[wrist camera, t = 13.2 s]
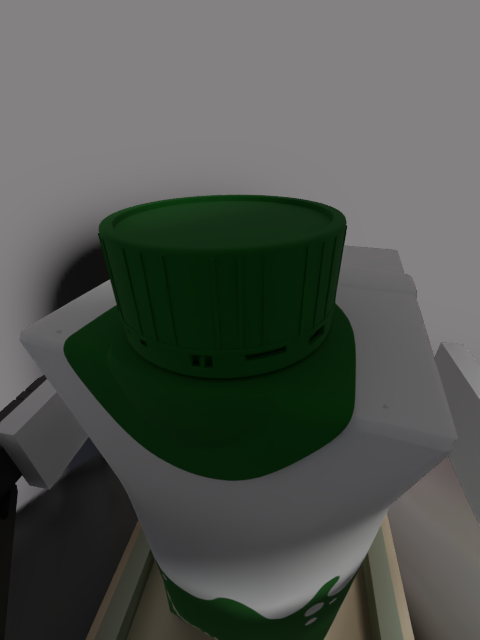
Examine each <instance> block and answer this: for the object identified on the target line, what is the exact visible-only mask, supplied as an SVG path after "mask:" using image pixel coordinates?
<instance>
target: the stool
mask: <svg viewBox="0 0 480 640" xmlns="http://www.w3.org/2000/svg"><path fill="white" fill-rule="evenodd" d="M86 640H216V639H214V638H213V637H211V636H209V635H207V634H206V633H204V632H202V631H200V630H199V629H197V628H195V627H194V626H192V625H190V624H188V623H187V622H185V621H184V620H182V619H181V618H179V617H178V616H176V615H175V614H173V613H172V612H170V609H169V604H168V600H167V595H166V590H165V586H164V581H163V578H162V575H161V573H160V571H159V568H158V566H157V563H156V561H155V558H154V556H153V554H152V551H151V549H150V546H149V544H148V541H147V539H146V537H145V534H144V532H143V529H142V527H141V525H140V522H139V520H138V522H137V524H136V526H135V529H134V531H133V533H132V536H131V538H130V540H129V542H128V545H127V547H126V549H125V551H124V554H123V556H122V558H121V561H120V563H119V565H118V567H117V570H116V572H115V574H114V576H113V579H112V581H111V583H110V586H109V588H108V590H107V592H106V595H105V597H104V599H103V601H102V604H101V606H100V608H99V610H98V613H97V615H96V617H95V620H94V622H93V624H92V626H91V629H90V631H89V633H88V635H87V638H86ZM324 640H414V636H413V631H412V627H411V622H410V617H409V613H408V608H407V604H406V599H405V594H404V590H403V585H402V581H401V576H400V571H399V567H398V562H397V558H396V553H395V548H394V544H393V539H392V535H391V530H390V525H389V521H388V516H387V514H386V516H385V518H384V520H383V522H382V524H381V526H380V528H379V530H378V532H377V534H376V536H375V538H374V540H373V542H372V544H371V546H370V548H369V550H368V552H367V554H366V557H365V559H364V561H363V563H362V565H361V567H360V569H359V571H358V573H357V575H356V577H355V579H354V581H353V583H352V585H351V587H350V589H349V591H348V593H347V595H346V597H345V599H344V601H343V603H342V605H341V607H340V609H339V611H338V613H337V615H336V617H335V619H334V621H333V623H332V625H331V627H330V629H329V631H328V633H327V635H326V637H325V638H324Z"/></svg>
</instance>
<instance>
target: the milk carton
mask: <svg viewBox="0 0 480 640" xmlns="http://www.w3.org/2000/svg"><path fill="white" fill-rule="evenodd" d="M346 230H347V225H346V218H345V216H344V215H343V214H342V213H341V212H340V211H339V210H337V209H335V208H333V207H331V206H328V205H325V204H322V203H318V202H313V201H309V200H303V199H297V198H289V197H278V196H265V195H212V196H196V197H186V198H176V199H169V200H162V201H156V202H151V203H145V204H141V205H137V206H133V207H129V208H126V209H123V210H121V211H118V212H115V213H113V214H111V215H109V216H108V217H106V218H105V219H104V220H103V221H102V222H101V223H100V225H99V233H98V236H99V239H100V243H101V247H102V251H103V255H104V258H105V262H106V266H107V270H108V273H109V277H110V280H108V281H107V282H105V283H103V284H101V285H100V286H98V287H96V288H94V289H93V290H91V291H89V292H87V293H86V294H84V295H82V296H80V297H79V298H77V299H75V300H73V301H72V302H70V303H68V304H67V305H65V306H63V307H61V308H60V309H58V310H56V311H54V312H53V313H51V314H49V315H47V316H46V317H44V318H43V319H41V320H39V321H37V322H36V323H34V324H32V325H31V326H29V327H28V328H26V329H24V330H23V331H21V338H20V341H21V343H22V344H23V346H24V347H25V349H26V350H27V351H28V353H29V354H30V355H31V357H32V358H33V359H34V361H35V362H36V364H37V365H38V366H39V368H40V369H41V371H42V372H43V373H44V375H45V376H46V378H47V379H48V380H49V382H50V383H51V385H52V386H53V387H54V389H55V390H56V392H57V393H58V394H59V396H60V397H61V399H62V400H63V401H64V403H65V404H66V405H67V407H68V408H69V410H70V411H71V412H72V414H73V415H74V417H75V418H76V419H77V421H78V422H79V424H80V425H81V426H82V428H83V429H84V431H85V432H86V433H87V435H88V436H89V437H90V438H91V440H92V442H93V443H94V444H95V445H96V447H97V449H98V450H99V451H100V453H101V454H102V456H103V457H104V458H105V460H106V461H107V463H108V464H109V465H110V467H111V468H112V470H113V471H114V473H115V474H116V475H117V477H118V478H119V480H120V482H121V483H122V485H123V487H124V488H125V490H126V492H127V494H128V496H129V499H130V501H131V503H132V506H133V508H134V510H135V512H136V515H137V517H138V520H139V522H140V525H141V527H142V529H143V532H144V534H145V537H146V539H147V541H148V544H149V546H150V549H151V551H152V554H153V556H154V558H155V561H156V563H157V566H158V568H159V571H160V573H161V575H162V578H163V581H164V586H165V590H166V595H167V600H168V604H169V609H170V612H172V613H173V614H175V615H176V616H178V617H179V618H181V619H182V620H184V621H185V622H187V623H188V624H190V625H192V626H194V627H195V628H197V629H199V630H200V631H202V632H204V633H206V634H207V635H209V636H211V637H213V638H214V639H216V640H324V638H325V637H326V635H327V633H328V631H329V629H330V627H331V625H332V623H333V621H334V619H335V617H336V615H337V613H338V611H339V609H340V607H341V605H342V603H343V601H344V599H345V597H346V595H347V593H348V591H349V589H350V587H351V585H352V583H353V581H354V579H355V577H356V575H357V573H358V571H359V569H360V567H361V565H362V563H363V561H364V559H365V557H366V554H367V552H368V550H369V548H370V546H371V544H372V542H373V540H374V538H375V536H376V534H377V532H378V530H379V528H380V526H381V524H382V522H383V520H384V518H385V516H386V514H387V512H388V509H389V507H390V505H391V504H392V503H393V502H394V501H396V500H397V499H398V498H399V497H400V496H401V495H403V494H404V493H405V492H406V491H407V490H408V489H410V488H411V487H412V486H413V485H414V484H415V483H417V482H418V481H419V480H420V479H421V478H422V477H424V476H425V475H426V474H427V473H428V472H429V471H431V470H432V469H433V468H434V467H435V466H436V465H438V464H439V463H440V462H441V461H442V460H443V459H444V458H445V457H447V456H448V455H449V454H450V453H451V452H452V451H453V443H454V442H455V441H456V440H457V439H458V437H457V433H456V430H455V426H454V423H453V419H452V416H451V412H450V409H449V405H448V402H447V399H446V395H445V392H444V388H443V385H442V382H441V378H440V375H439V372H438V368H437V365H436V362H435V358H434V355H433V351H432V348H431V345H430V342H429V338H428V335H427V331H426V328H425V325H424V322H423V318H422V315H421V311H420V308H419V305H418V302H417V290H416V287H415V284H414V281H413V279H412V278H411V276H410V275H408V274H404V271H403V267H402V264H401V261H400V257H399V254H398V251H397V250H391V249H380V248H368V247H355V246H344V242H345V236H346Z"/></svg>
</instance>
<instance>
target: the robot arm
mask: <svg viewBox="0 0 480 640" xmlns="http://www.w3.org/2000/svg"><path fill="white" fill-rule="evenodd" d="M435 362H436V365H437V368H438V372H439V375H440V378H441V382H442V385H443V388H444V392H445V395H446V399H447V402H448V405H449V409H450V412H451V416H452V419H453V423H454V426H455V430H456V433H457V437H458V439H457V440H456V441H455V442H454V443H453V451H452V452H451V453H450V454H449V455H448V457H449V459H450V461H451V463H452V466H453V468H454V470H455V472H456V475H457V477H458V479H459V481H460V483H461V486H462V488H463V490H464V492H465V494H466V497H467V499H468V501H469V503H470V506H471V508H472V510H473V512H474V514H475V517H476V519H477V521H478V523H479V525H480V365H479V364H478V363H477V362H476V360H475V359H474V358H473V356H472V355H471V354H470V352H469V351H468V350H467V349H466V348H465V346H464V345H463V344H457V343H445V342H441V344H440V346H439V349H438V351H437V353H436V356H435ZM88 437H89V436H88V435H87V433H86V432H85V431H84V429H83V428H82V426H81V425H80V424H79V422H78V421H77V419H76V418H75V417H74V415H73V414H72V412H71V411H70V410H69V408H68V407H67V405H66V404H65V403H64V401H63V400H62V399H61V397H60V396H59V394H58V393H57V392H56V390H55V389H54V387H53V386H52V385H51V383H50V382H49V380H48V379H47V378H46V376H45V375H43V376H42V377H40V378H38V379H37V380H36V381H34V382H33V383H32V384H31V385H30V386H29V387H28V388H27V389H26V391H23V392H22V393H21V394H20V395H19V396H18V397H16V400H13V401H12V402H11V403H10V404H9V405H7V406H6V407H5V408H4V409H3V410H2V411H1V412H0V640H4V634H5V623H6V613H7V602H8V591H9V580H10V570H11V559H12V548H13V537H14V526H15V516H16V504H17V494H18V490H17V485H15V483H16V482H17V480H18V479H19V478H20V477H21V476H23V477H24V478H25V479H26V481H27V482H28V484H29V485H31V486H36V487H40V488H45V489H49V490H50V488H51V487H52V486H53V484H54V483H55V482H56V480H57V479H58V478H59V476H60V475H61V473H62V472H63V471H64V469H65V468H66V467H67V465H68V464H69V463H70V461H71V460H72V458H73V457H74V456H75V454H76V453H77V452H78V450H79V449H80V448H81V446H82V445H83V443H84V442H85V441H86V439H87V438H88Z"/></svg>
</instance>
